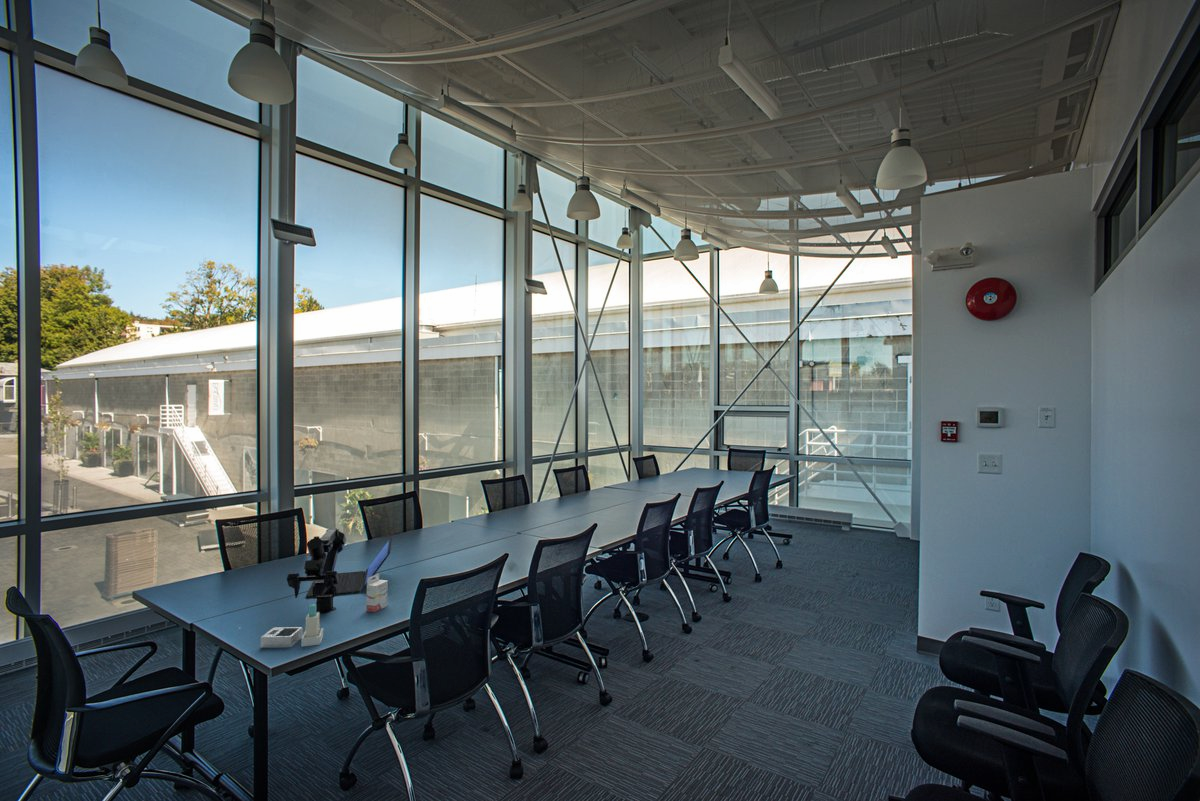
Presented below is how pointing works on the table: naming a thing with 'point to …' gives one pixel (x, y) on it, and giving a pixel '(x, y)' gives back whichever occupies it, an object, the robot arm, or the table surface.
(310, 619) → the plug
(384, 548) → the laptop
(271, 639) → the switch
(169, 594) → the table surface
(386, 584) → the ink cartridge box
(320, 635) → the box
